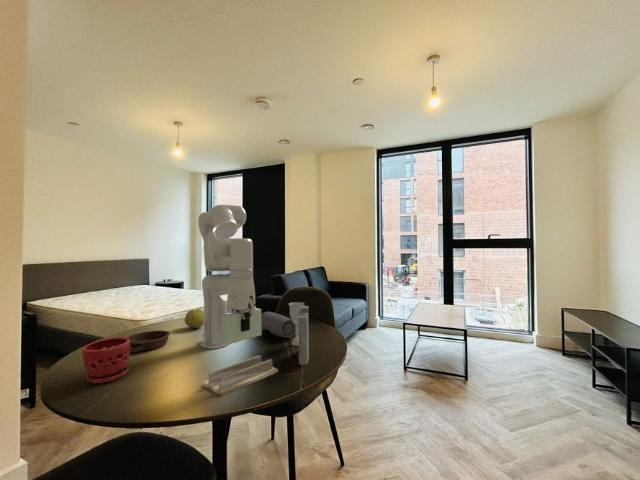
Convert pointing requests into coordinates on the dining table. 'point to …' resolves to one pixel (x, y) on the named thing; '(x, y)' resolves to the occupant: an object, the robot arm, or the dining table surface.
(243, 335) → the door panel
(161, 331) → the dish
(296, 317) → the chalice
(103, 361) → the plant pot
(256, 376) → the track
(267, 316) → the bluetooth speaker
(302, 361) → the hip flask
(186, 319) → the fruit
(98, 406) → the dining table surface
